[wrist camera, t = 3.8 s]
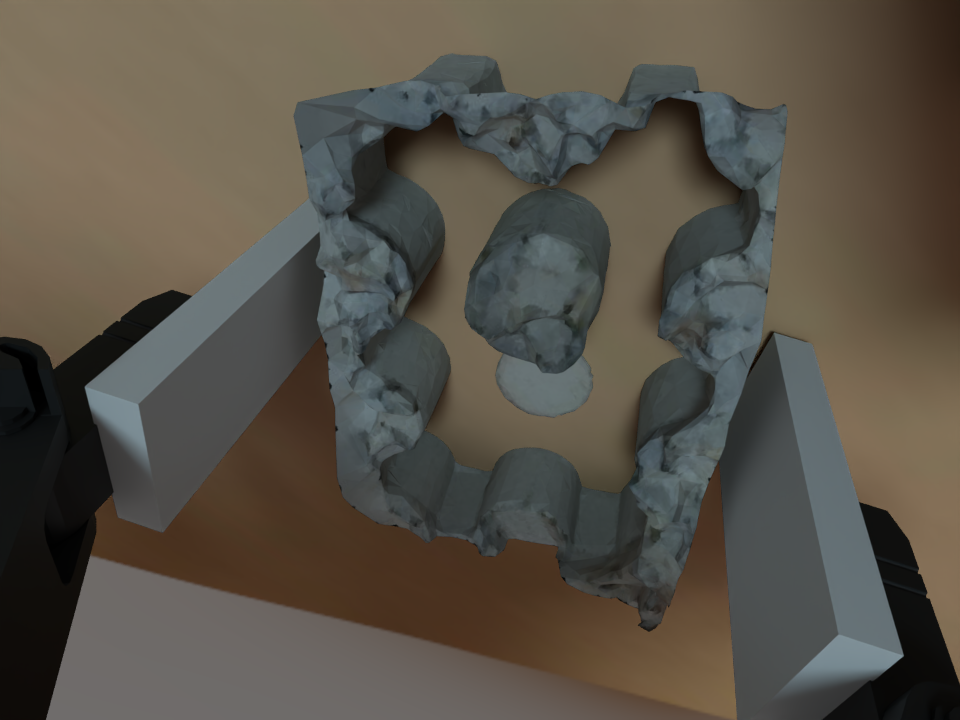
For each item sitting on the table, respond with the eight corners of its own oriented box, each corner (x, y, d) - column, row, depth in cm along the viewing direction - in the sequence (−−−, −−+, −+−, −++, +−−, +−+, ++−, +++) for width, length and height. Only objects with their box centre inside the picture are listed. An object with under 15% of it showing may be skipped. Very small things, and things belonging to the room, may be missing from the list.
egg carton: (666, 505, 17) (663, 653, 14) (390, 446, 18) (328, 568, 15) (816, 65, 10) (879, 150, 7) (370, 18, 11) (252, 72, 8)
